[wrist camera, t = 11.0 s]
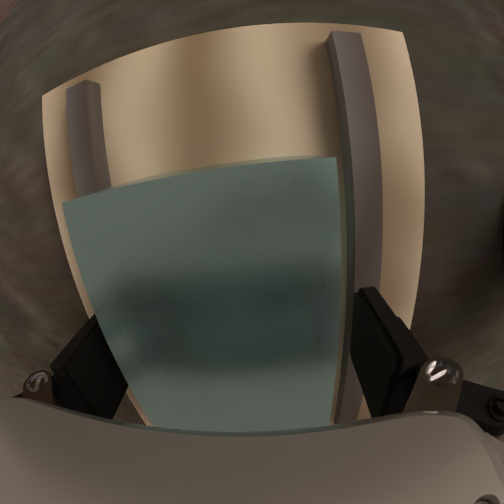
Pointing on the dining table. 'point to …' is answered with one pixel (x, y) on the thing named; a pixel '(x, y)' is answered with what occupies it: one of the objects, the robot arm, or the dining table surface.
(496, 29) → the dining table surface
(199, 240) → the housing
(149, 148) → the stand
